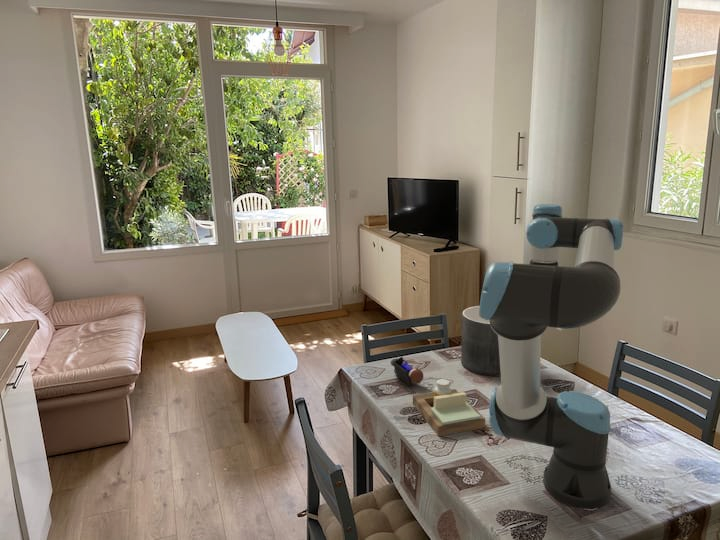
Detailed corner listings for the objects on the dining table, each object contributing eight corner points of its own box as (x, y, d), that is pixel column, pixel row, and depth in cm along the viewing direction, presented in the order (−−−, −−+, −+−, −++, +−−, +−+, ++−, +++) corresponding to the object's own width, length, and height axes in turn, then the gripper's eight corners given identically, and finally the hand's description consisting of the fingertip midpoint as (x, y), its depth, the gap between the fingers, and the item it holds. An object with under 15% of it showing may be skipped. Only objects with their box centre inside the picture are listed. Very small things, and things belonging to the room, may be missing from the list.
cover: (480, 418, 151) (480, 405, 150) (442, 424, 148) (443, 411, 147) (466, 404, 159) (466, 391, 158) (430, 409, 156) (430, 397, 155)
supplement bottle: (442, 403, 166) (443, 376, 163) (454, 410, 161) (455, 382, 159) (430, 408, 163) (430, 380, 160) (442, 415, 158) (443, 387, 156)
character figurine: (403, 371, 191) (425, 388, 178) (386, 374, 188) (407, 391, 175) (405, 352, 190) (427, 367, 176) (387, 354, 186) (408, 370, 173)
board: (484, 427, 152) (485, 418, 151) (438, 436, 148) (438, 426, 147) (454, 397, 171) (455, 388, 170) (412, 403, 167) (412, 395, 166)
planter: (510, 382, 181) (513, 328, 176) (451, 368, 193) (453, 317, 188) (527, 360, 199) (530, 311, 194) (473, 349, 211) (475, 302, 206)
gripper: (573, 254, 150) (567, 323, 155) (497, 260, 144) (493, 332, 149) (591, 259, 143) (584, 331, 148) (511, 266, 136) (507, 341, 141)
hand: (538, 331), depth 148 cm, fingers open, 13 cm apart
